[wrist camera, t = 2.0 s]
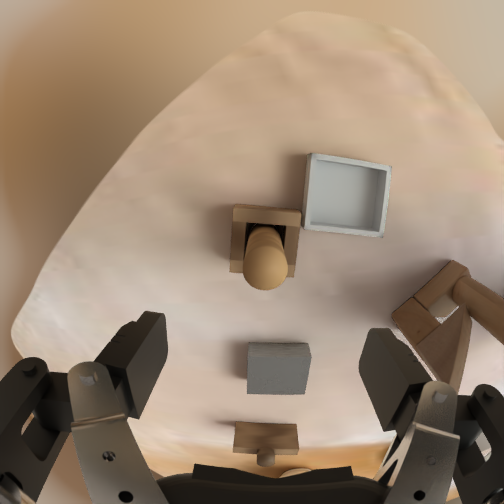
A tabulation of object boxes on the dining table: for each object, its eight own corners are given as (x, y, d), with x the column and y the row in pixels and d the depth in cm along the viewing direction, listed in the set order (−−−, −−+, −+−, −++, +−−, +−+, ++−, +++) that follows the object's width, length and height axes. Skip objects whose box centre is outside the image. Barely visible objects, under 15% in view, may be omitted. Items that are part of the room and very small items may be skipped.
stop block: (296, 422, 36) (300, 458, 29) (294, 431, 36) (297, 466, 29) (236, 419, 36) (232, 456, 29) (235, 428, 36) (231, 464, 30)
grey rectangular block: (307, 342, 32) (311, 356, 29) (302, 378, 33) (304, 394, 31) (248, 341, 32) (247, 356, 29) (248, 378, 34) (246, 393, 31)
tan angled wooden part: (389, 313, 30) (466, 418, 13) (451, 257, 28) (554, 322, 11) (401, 331, 31) (470, 432, 14) (460, 278, 29) (552, 346, 11)
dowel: (280, 222, 28) (290, 249, 18) (277, 251, 29) (285, 291, 19) (250, 220, 28) (244, 245, 18) (248, 249, 29) (241, 288, 19)
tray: (381, 166, 26) (391, 166, 23) (373, 232, 28) (382, 237, 25) (307, 154, 26) (311, 152, 23) (300, 224, 28) (304, 229, 25)
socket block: (297, 209, 27) (301, 213, 24) (290, 267, 29) (293, 277, 26) (236, 204, 27) (233, 207, 25) (232, 262, 29) (229, 272, 26)
